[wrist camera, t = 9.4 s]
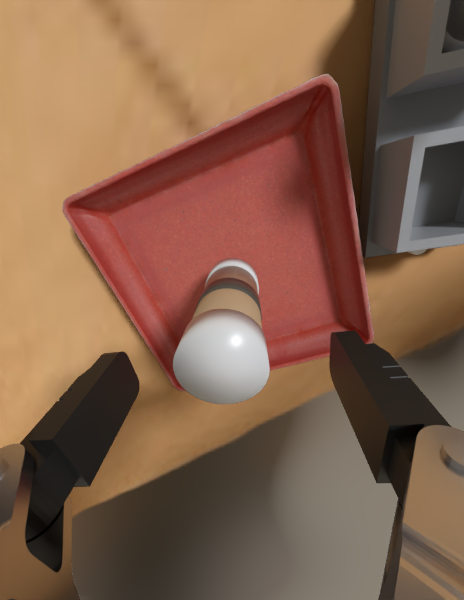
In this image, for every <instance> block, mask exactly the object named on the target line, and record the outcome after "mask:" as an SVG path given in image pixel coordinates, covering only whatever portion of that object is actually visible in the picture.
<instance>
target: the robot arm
mask: <svg viewBox="0 0 464 600" xmlns="http://www.w3.org/2000/svg"><path fill="white" fill-rule="evenodd" d="M330 373H331V378H332V381H333V384H334V386H335V388H336V390H337V393H338V395H339V397H340V399H341V402H342V404H343V407H344V409H345V411H346V413H347V416H348V418H349V420H350V423H351V425H352V427H353V429H354V432H355V434H356V436H357V439H358V441H359V443H360V446H361V448H362V450H363V453H364V455H365V457H366V459H367V462H368V464H369V466H370V469H371V471H372V473H373V475H374V478H375V480H376V483H391V484H392V486H393V488H394V490H395V492H396V494H397V496H398V501H397V506H396V511H395V516H394V522H393V527H392V532H391V537H390V543H389V548H388V553H387V559H386V564H385V569H384V574H383V580H382V585H381V590H380V594H379V598H378V600H464V431H461V430H459V429H456V428H453V427H451V426H450V425H449V424H448V422H447V421H446V420H445V419H444V418H443V417H442V415H441V414H440V413H439V412H438V411H437V410H436V408H435V407H434V406H433V405H432V404H431V402H430V401H429V400H428V399H427V398H426V396H425V395H424V394H423V393H422V392H421V391H420V389H419V388H418V387H417V386H416V385H415V383H414V382H413V381H412V380H411V379H410V378H408V375H407V374H406V373H405V372H404V370H403V369H402V368H401V367H399V364H398V363H397V362H396V361H395V360H394V358H393V357H392V356H391V355H390V354H389V353H388V352H387V351H385V350H384V349H382V348H380V347H379V346H377V345H376V344H374V343H371V344H365V343H364V341H363V340H362V339H361V337H360V336H359V335H358V333H357V332H356V331H354V330H352V331H341V332H332V333H331V336H330ZM138 392H139V380H138V377H137V375H136V373H135V371H134V369H133V366H132V364H131V362H130V360H129V358H128V356H127V354H126V353H125V352H115V353H105V354H103V355H101V356H100V358H99V359H98V360H97V361H96V362H95V363H94V365H93V366H92V367H91V368H90V369H89V370H87V371H86V372H85V373H83V374H82V375H81V376H79V377H78V378H77V379H76V380H75V382H74V383H73V384H72V385H71V386H70V387H69V388H68V391H66V392H65V393H64V394H63V395H62V396H61V397H60V400H59V401H57V402H56V403H55V404H54V405H53V407H52V408H51V409H50V410H49V411H48V412H47V413H46V414H45V416H44V417H43V418H42V419H41V420H40V421H39V422H38V424H37V425H36V426H35V427H34V428H33V429H32V430H31V432H30V433H29V434H28V435H27V436H26V437H25V438H24V439H23V441H22V442H21V443H20V444H11V445H8V446H5V447H3V448H0V600H80V596H79V593H78V590H77V588H76V586H75V583H74V580H73V575H72V501H71V498H70V497H69V494H70V492H71V490H72V489H73V487H87V486H90V485H91V483H92V481H93V479H94V477H95V476H96V474H97V472H98V470H99V468H100V466H101V464H102V462H103V460H104V458H105V456H106V454H107V453H108V451H109V449H110V447H111V445H112V443H113V441H114V439H115V437H116V435H117V433H118V432H119V430H120V428H121V426H122V424H123V422H124V420H125V418H126V416H127V414H128V412H129V411H130V409H131V407H132V405H133V403H134V401H135V399H136V397H137V395H138Z"/></svg>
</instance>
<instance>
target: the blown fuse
mask: <svg viewBox="0 0 464 600" xmlns="http://www.w3.org/2000/svg"><path fill="white" fill-rule="evenodd" d="M258 294H259V285H258V278H257V274H256V272H255V270H254V268H253V267H252V266H251V265H250V264H249V263H247V262H246V261H244V260H242V259H238V258H227V259H223V260H221V261H219V262H218V263H216V264H215V265H214V266H213V268H212V269H211V271H210V273H209V276H208V278H207V280H206V283H205V289H204V290H203V292H202V294H201V296H200V299H199V301H198V304H197V306H196V309H195V313H194V316H193V318H192V320H191V322H190V323H189V324H188V326H187V327H186V329H185V331H184V334H183V336H182V338H181V341H180V343H179V345H178V348H177V350H176V352H175V355H174V359H173V370H174V374H175V376H176V378H177V380H178V382H179V383H180V385H181V386H182V387H183V388H184V389H185V390H186V391H187V392H189V393H190V394H191V395H193V396H195V397H196V398H199V399H201V400H203V401H206V402H210V403H215V404H234V403H239V402H242V401H245V400H247V399H250V398H251V397H253V396H255V395H256V394H257V393H259V392H260V391H261V390H262V388H263V387H264V386H265V384H266V382H267V380H268V377H269V371H270V369H269V359H268V352H267V344H266V338H265V335H264V332H263V330H262V323H261V320H262V315H261V307H260V300H259V297H258Z"/></svg>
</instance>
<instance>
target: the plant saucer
mask: <svg viewBox="0 0 464 600" xmlns="http://www.w3.org/2000/svg"><path fill="white" fill-rule="evenodd" d="M63 213H64V215H65V217H66V219H67V220H68V222H69V223H70V225H71V226H72V228H73V230H74V231H75V233H76V234H77V236H78V238H79V239H80V241H81V242H82V244H83V245H84V247H85V248H86V250H87V251H88V253H89V254H90V256H91V258H92V259H93V261H94V262H95V264H96V265H97V267H98V269H99V270H100V272H101V273H102V275H103V277H104V278H105V280H106V281H107V283H108V285H109V286H110V287H111V289H112V290H113V292H114V294H115V295H116V297H117V298H118V300H119V302H120V303H121V305H122V306H123V308H124V310H125V311H126V313H127V314H128V316H129V317H130V319H131V321H132V322H133V323H134V325H135V327H136V328H137V330H138V331H139V333H140V335H141V336H142V337H143V339H144V341H145V343H146V344H147V346H148V347H149V349H150V350H151V352H152V353H153V355H154V356H155V358H156V360H157V361H158V362H159V364H160V366H161V368H162V369H163V371H164V372H165V374H166V375H167V377H168V379H169V380H170V382H171V383H172V385H173V386H174V387H175V388H176V389H177V390H180V391H186V390H185V389H184V388H183V387H182V386H181V385H180V383H179V382H178V380H177V378H176V376H175V374H174V370H173V359H174V355H175V352H176V350H177V348H178V345H179V343H180V341H181V338H182V336H183V334H184V331H185V329H186V327H187V326H188V324H189V323H190V322H191V320H192V318H193V316H194V313H195V309H196V306H197V304H198V301H199V299H200V296H201V294H202V292H203V290H204V289H205V283H206V280H207V278H208V276H209V273H210V271H211V269H212V268H213V266H214V265H215V264H216V263H218V262H219V261H221V260H223V259H227V258H238V259H242V260H244V261H246V262H247V263H249V264H250V265H251V266H252V267H253V268H254V270H255V272H256V274H257V278H258V285H259V294H258V297H259V300H260V307H261V315H262V320H261V323H262V330H263V332H264V335H265V338H266V344H267V352H268V359H269V369H270V371H271V370H275V369H279V368H283V367H288V366H291V365H295V364H299V363H304V362H307V361H312V360H316V359H319V358H324V357H328V356H330V336H331V333H332V332H341V331H352V330H354V331H356V332H357V333H358V335H359V336H360V337H361V339H362V340H363V341H364V343H365V344H371V342H372V341H373V339H374V332H373V325H372V319H371V311H370V304H369V298H368V292H367V284H366V277H365V270H364V262H363V256H362V249H361V241H360V235H359V228H358V219H357V213H356V207H355V198H354V192H353V187H352V178H351V170H350V163H349V158H348V148H347V143H346V134H345V126H344V118H343V113H342V104H341V99H340V92H339V88H338V84H337V83H336V82H335V81H334V79H333V78H332V77H331V76H330V75H329V74H323V75H320V76H317V77H315V78H312V79H310V80H308V81H306V82H305V83H303V84H301V85H299V86H297V87H295V88H293V89H291V90H288V91H286V92H284V93H282V94H280V95H278V96H275V97H273V98H271V99H269V100H268V101H266V102H264V103H261V104H259V105H257V106H255V107H253V108H251V109H249V110H247V111H245V112H243V113H241V114H239V115H237V116H235V117H233V118H231V119H229V120H226V121H224V122H221V123H220V124H218V125H216V126H214V127H212V128H210V129H208V130H207V131H204V132H202V133H200V134H198V135H196V136H194V137H192V138H189V139H187V140H185V141H183V142H181V143H179V144H177V145H176V146H174V147H171V148H169V149H166V150H164V151H162V152H160V153H158V154H156V155H154V156H152V157H150V158H148V159H146V160H144V161H142V162H140V163H138V164H136V165H134V166H132V167H130V168H128V169H126V170H123V171H121V172H118V173H117V174H115V175H113V176H111V177H109V178H107V179H104V180H102V181H101V182H98V183H96V184H94V185H92V186H90V187H88V188H86V189H83V190H81V191H79V192H78V193H76V194H73V195H71V196H69V197H68V198H66V199H65V200H64V202H63Z"/></svg>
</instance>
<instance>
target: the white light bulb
mask: <svg viewBox="0 0 464 600" xmlns="http://www.w3.org/2000/svg"><path fill="white" fill-rule="evenodd" d="M460 49H464V0H451V1H450V7H449V13H448V18H447V24H446V30H445V36H444V42H443V48H442V53H441V54H443V53H447V52H451V51H456V50H460Z"/></svg>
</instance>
